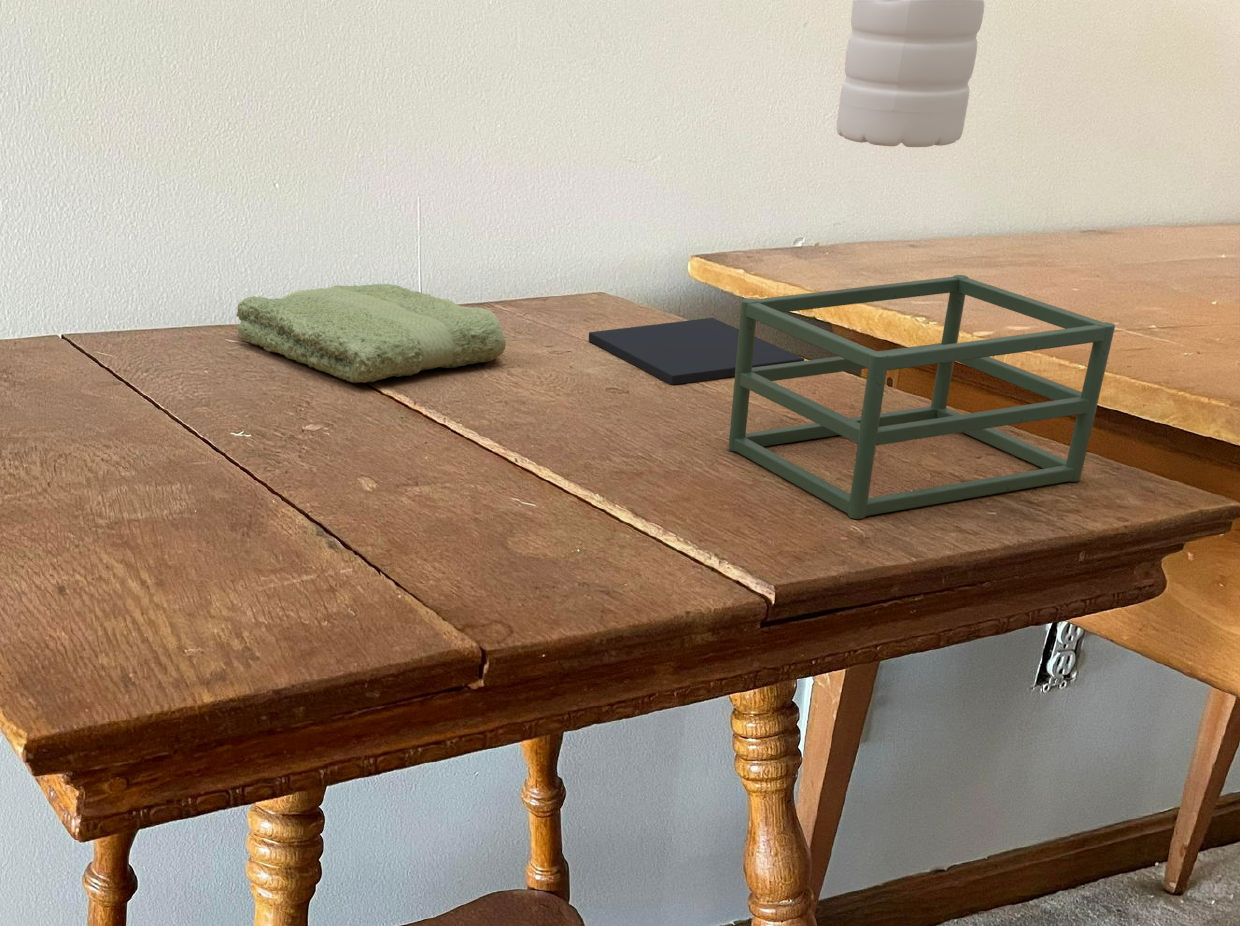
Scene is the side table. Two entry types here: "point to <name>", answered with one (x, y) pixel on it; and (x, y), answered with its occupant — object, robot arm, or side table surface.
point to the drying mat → (687, 349)
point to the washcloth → (371, 330)
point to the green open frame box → (925, 419)
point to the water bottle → (908, 71)
